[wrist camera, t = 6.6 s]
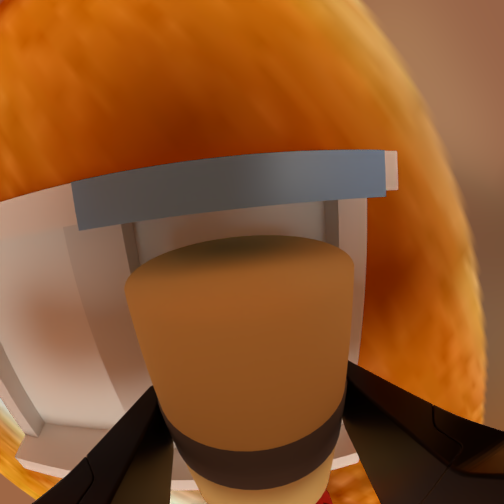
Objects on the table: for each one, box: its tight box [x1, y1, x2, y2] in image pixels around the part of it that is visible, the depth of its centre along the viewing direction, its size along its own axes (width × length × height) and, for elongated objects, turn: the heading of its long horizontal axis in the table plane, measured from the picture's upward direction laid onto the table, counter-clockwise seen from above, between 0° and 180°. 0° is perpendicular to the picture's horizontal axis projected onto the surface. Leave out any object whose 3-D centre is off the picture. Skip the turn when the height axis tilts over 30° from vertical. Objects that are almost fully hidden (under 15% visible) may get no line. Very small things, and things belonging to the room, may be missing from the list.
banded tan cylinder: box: [124, 235, 354, 504], centre depth 8 cm, size 8×5×5 cm, turn 5°
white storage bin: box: [0, 150, 398, 490], centre depth 9 cm, size 17×12×5 cm
